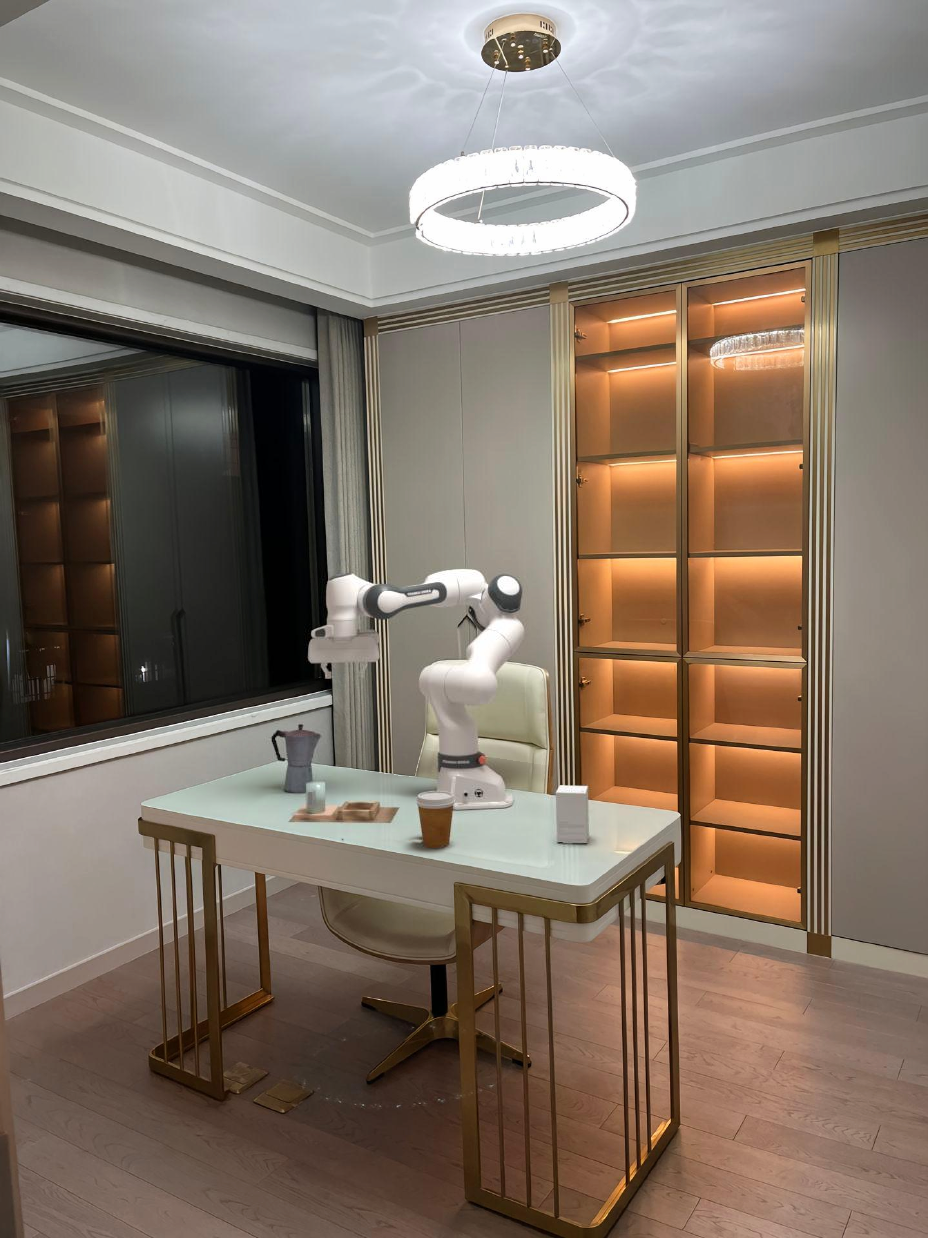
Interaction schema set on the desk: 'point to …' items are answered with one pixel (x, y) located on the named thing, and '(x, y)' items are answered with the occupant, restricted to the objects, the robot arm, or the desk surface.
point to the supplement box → (572, 814)
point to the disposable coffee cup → (435, 817)
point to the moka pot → (297, 757)
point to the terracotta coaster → (328, 813)
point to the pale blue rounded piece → (315, 797)
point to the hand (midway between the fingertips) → (344, 678)
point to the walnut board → (357, 814)
